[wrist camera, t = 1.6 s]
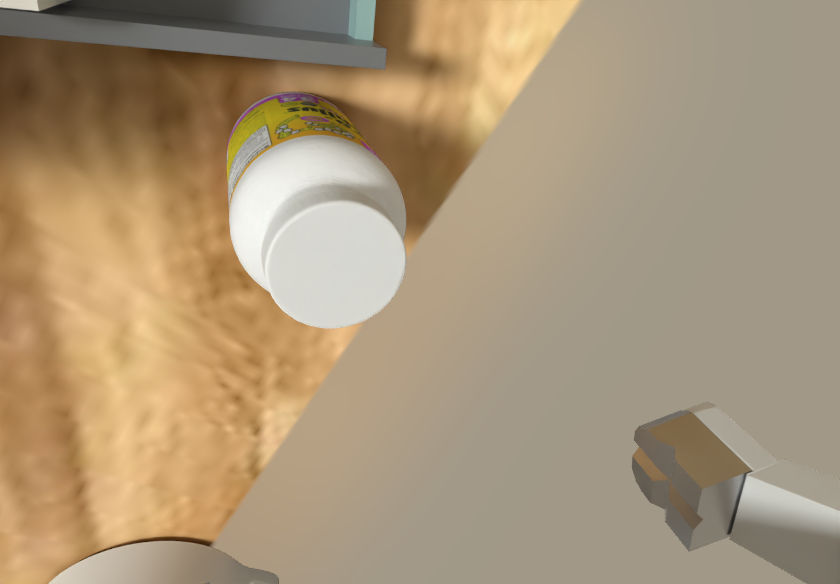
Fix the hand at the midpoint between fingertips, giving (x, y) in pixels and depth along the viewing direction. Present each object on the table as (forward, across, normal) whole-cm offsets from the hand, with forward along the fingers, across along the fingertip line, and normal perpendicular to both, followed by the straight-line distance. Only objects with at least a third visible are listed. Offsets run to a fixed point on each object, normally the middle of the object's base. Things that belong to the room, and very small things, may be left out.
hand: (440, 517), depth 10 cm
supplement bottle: (+23, 0, 0) cm, 23 cm away
